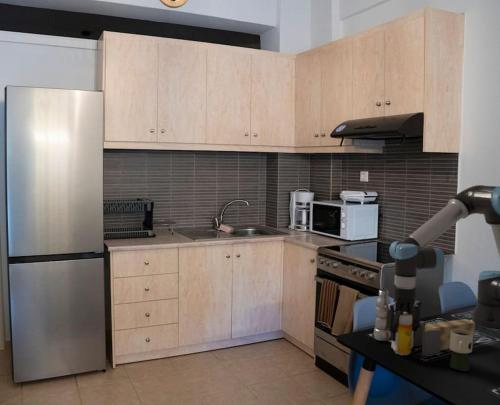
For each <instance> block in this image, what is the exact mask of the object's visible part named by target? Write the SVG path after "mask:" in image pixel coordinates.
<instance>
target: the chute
mask: <svg viewBox="0 0 500 405" xmlns="http://www.w3.org/2000/svg"><path fill="white" fill-rule="evenodd" d="M425 325H426V322H425V321H423V320H420V328H417V331H415V337H414V338H413V347H419V346H418V345H420V346H421V347H422V348H421V355H422V354H423V355H424V357H425V356H429V357H433V355H436V356H441V355H440V354H443V353H442V352H441V350H440V335H441V330H440V329H433V330H425ZM423 355H422V356H423Z"/></svg>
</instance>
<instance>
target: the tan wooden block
mask: <svg viewBox="0 0 500 405" xmlns="http://www.w3.org/2000/svg"><path fill="white" fill-rule="evenodd" d="M475 326H476V323H475V322H473V321H472V320H470V319H466V318H463V319H456V320H455V319H454V320H447V321H442V322H441V321H440V322H433V323H425V326H424V331H425V330H433V329H440V330H441V335H440V351H444V350H451V349H450V347H449V346H450V331H451V330H452V329H464V330H468V331H470V332H472V333H473V345H474V343H475ZM443 349H444V350H443Z"/></svg>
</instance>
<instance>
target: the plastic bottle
mask: <svg viewBox="0 0 500 405" xmlns="http://www.w3.org/2000/svg"><path fill="white" fill-rule="evenodd" d="M389 296H390V293H389V290H388V289H385V288H383V289H382V288H381V289H379V290H378V297H377V299H376V300H375V301H374V308H375V324H374V329H373V337H374V339H375V340H377V341H380V342H387V341H389V340H391V339H390V336H391V332H390V331H388V330H387V329H386V322H387V311H388V309H387V304H388V303H389V304H391V303H392V301H391V299H390V298H389Z"/></svg>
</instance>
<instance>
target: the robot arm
mask: <svg viewBox="0 0 500 405" xmlns="http://www.w3.org/2000/svg"><path fill="white" fill-rule="evenodd" d="M473 214H477V215H478V214H479V215H483V216H484V220H485V223H486V224H487V225H489V226H491V231H492V233H493V238H494V241H495V246H496V249H497V253H498V257H499V258H500V186H494V185H493V186H492V185H483V184H482V185H479V184H478V185H472V186H471V187H468V188H465V189H463V190H462V191H460V192H458V193H457V194H455V195H454V196H453V197H452V198H450V199H449V200H448V202H447V205H445V206H444V207H443V208H442V209H440V210H439V211H438V212H437V213H436V214H434V215H433V216H432V217H431V218H429V219H428V220H427V221H426V222H424V223H423V224H422V225H421V226H420V227H418V228H417V229H416V230H414V231H413V232H412V233H411V234H409V235H408V237H406V238H405V239H403V240H402V241H401V240H396V241H393V242H392V243H391V245H390V246H389V249H388V250H389V255H390V257H391V258H392V259H394V282H393V283H394V285H395V286H394V287H393V297H394V299H393V302H391V304H389V303H388V304H387V309H388V311H387V322H386V329H387V330H388V331H390V332H391V336H390V339H389V340H390V341H391V349H393V351H394V350H398V332H397V329H398V326H399V317H400V315H403V312H406V313H408V314H410V315H412V339H411V349H413V348H414V346H413V338H414V337H415V331H417V328H420V322H421V306H422V302H421V301H418V300H415V299H416V294H417V293H416V291H417V290H416V286H417V273H418V270H419V271H420V270H430V269H432V270H434V269H438V268H442V267H443V265H444V264H445V257H446V256H445V253H444V252H443V250H442V249H440V248H438V247H429V248H428V246H430V245H431V244H432V243H433V242H434V241H436V239H438V238H439V237H440V236H441V235H443V234H444V233H445V232H446V231H448V230H449V229H450V228H451V227H453V226H454V225H455V224H457V222H459V221H460V220H461V219H463V220H464V219H466V218H467V217H469V216H471V215H473ZM476 302H477V303H476V305H475V308H474V311H473V313H472V315H471V321H472V322H475V325H479V326H482V327H485V328H486V327H487V328H491V329H493V328H494V329H500V270H482V271H480V272H479V273H478V280H477V301H476ZM399 311H400V312H399Z"/></svg>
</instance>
